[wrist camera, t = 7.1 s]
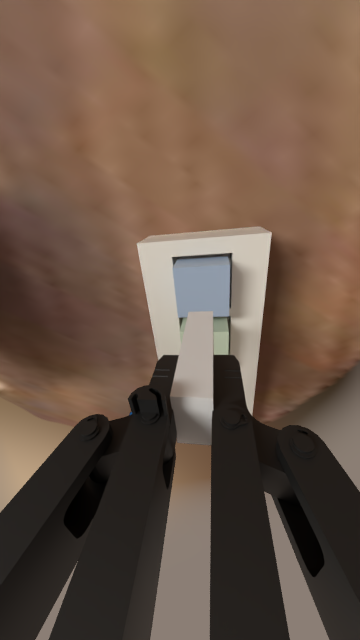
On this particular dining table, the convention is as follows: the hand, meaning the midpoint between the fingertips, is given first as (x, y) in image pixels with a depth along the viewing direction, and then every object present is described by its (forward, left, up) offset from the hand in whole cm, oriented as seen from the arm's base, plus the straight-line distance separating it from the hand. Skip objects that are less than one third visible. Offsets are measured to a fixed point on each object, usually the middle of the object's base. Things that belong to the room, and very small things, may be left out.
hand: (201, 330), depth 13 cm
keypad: (0, -10, -14) cm, 17 cm away
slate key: (0, 0, -9) cm, 9 cm away
